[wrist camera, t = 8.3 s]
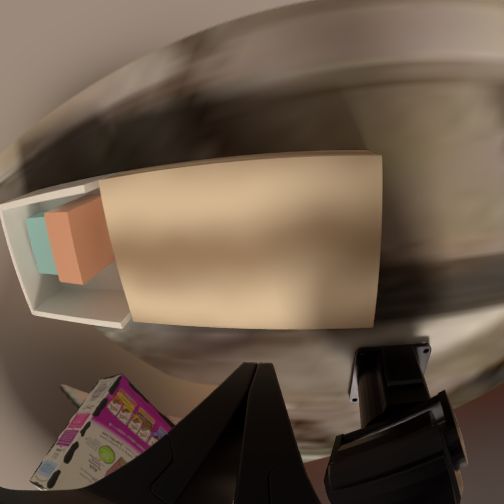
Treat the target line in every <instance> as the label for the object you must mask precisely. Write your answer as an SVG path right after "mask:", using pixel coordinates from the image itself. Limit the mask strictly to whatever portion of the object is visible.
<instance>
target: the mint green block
mask: <svg viewBox="0 0 504 504" xmlns="http://www.w3.org/2000/svg"><path fill="white" fill-rule="evenodd" d="M47 211H49V210H43V211H41V212H39V213H36V214H34V215H32V216H30V217H28V218H26V219H25V221H26V225H27V229H28V234H29V238H30V242H31V245H32V249H33V253H34V257H35V260H36V264H37V267H38V270H39V273H43V274H53V275H58V273H57V270H56V266H55V262H54V258H53V254H52V250H51V246H50V241H49V237H48V232H47V227H46V222H45V217H44V213H45V212H47Z"/></svg>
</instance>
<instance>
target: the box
mask: <svg viewBox="0 0 504 504" xmlns="http://www.w3.org/2000/svg"><path fill="white" fill-rule="evenodd" d="M123 172H126V171H122V172H116V173H111V174H106V175H101V176H96V177H91V178H86V179H82V180H77V181H72V182H68V183H64V184H59V185H55V186H51V187H47V188H43V189H39V190H36V191H33V192H30V193H28V194H25V195H22V196H20V197H17V198H15V199H12V200H10V201H7V202H5V203H2V204H0V218H1V221H2V226H3V230H4V234H5V237H6V241H7V244H8V247H9V251H10V254H11V258H12V261H13V264H14V267H15V270H16V273H17V275H18V279H19V281H20V284H21V287H22V289H23V292H24V295H25V297H26V300H27V303H28V305H29V307H30V310H31V312H32V314H33V315H37V316H42V317H47V318H53V319H59V320H65V321H71V322H77V323H84V324H91V325H98V326H105V327H113V328H121V329H123V327H124V326H125V325H126V324H127V323H128V322H129V320H130V319H131V318H132V315H131V312H130V309H129V305H128V302H127V299H126V296H125V292H124V289H123V285H122V282H121V278H120V275H119V271H118V267H117V264H116V260H114V261H113V262H112V263H110V264H109V265H108V266H107V267H105V268H104V269H103V270H102V271H100V272H99V273H98V274H97V275H95V276H94V277H93V278H92V279H90V280H89V281H88V282H87V283H85V284H84V285H80V284H73V283H66V282H60V280H59V277H58V275H53V274H43V273H39V270H38V267H37V264H36V260H35V257H34V253H33V249H32V245H31V242H30V238H29V234H28V229H27V225H26V221H25V219H26V218H28V217H30V216H32V215H34V214H36V213H39V212H41V211H43V210H52V209H54V208H56V207H58V206H61V205H63V204H65V203H68V202H70V201H73V200H75V199H77V198H80V197H82V196H85V195H87V194H101V193H100V188H99V182H98V180H101V179H104V178H107V177H110V176H113V175H116V174H120V173H123Z"/></svg>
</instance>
